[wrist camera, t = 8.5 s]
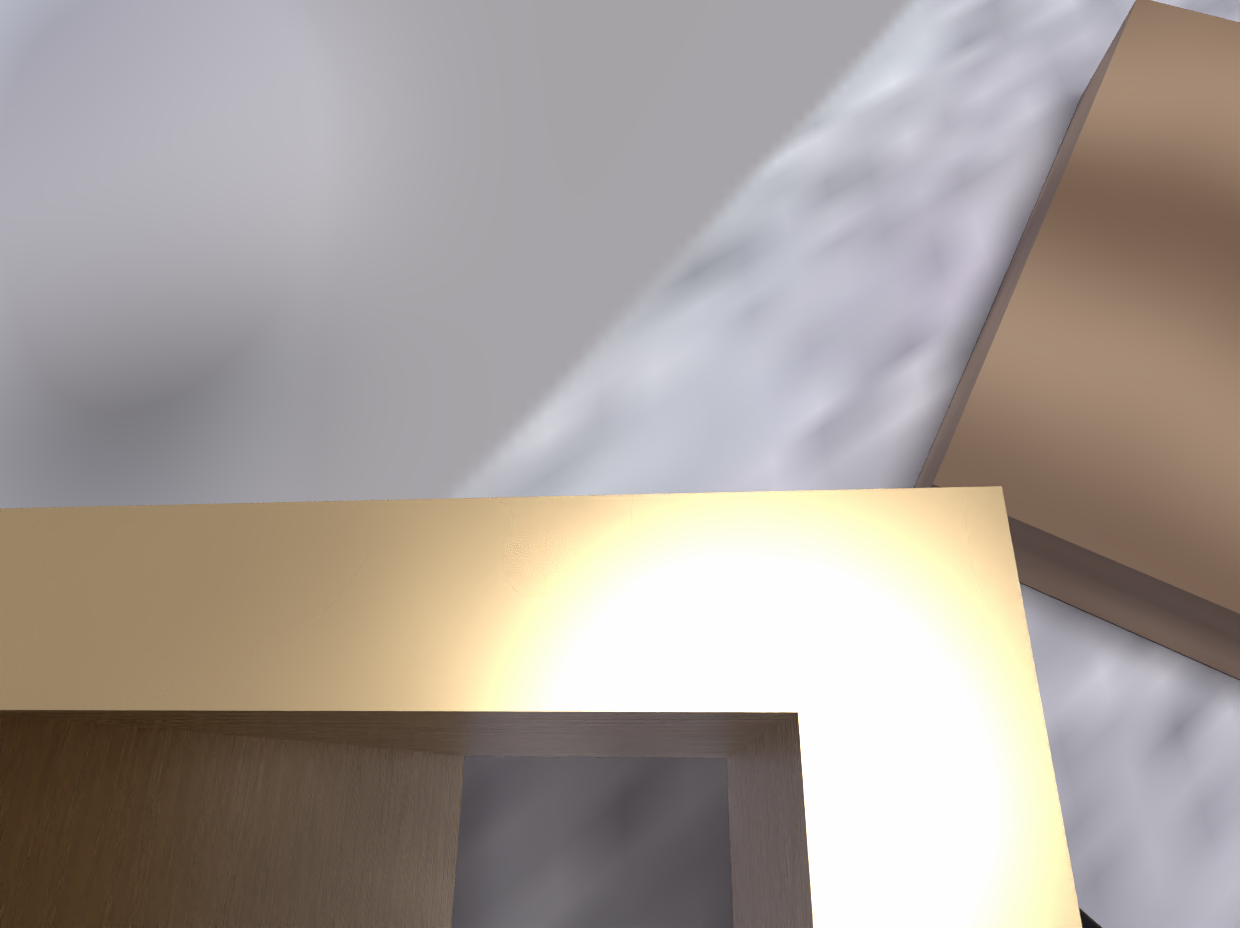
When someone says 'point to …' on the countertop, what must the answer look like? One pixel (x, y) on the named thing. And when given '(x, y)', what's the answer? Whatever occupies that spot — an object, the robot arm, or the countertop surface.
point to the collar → (518, 700)
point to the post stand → (1124, 350)
